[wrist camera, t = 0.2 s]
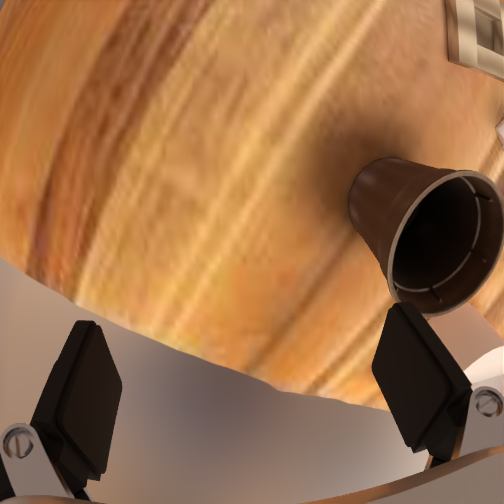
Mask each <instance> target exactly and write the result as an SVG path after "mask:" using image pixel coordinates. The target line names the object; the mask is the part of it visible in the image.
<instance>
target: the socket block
mask: <svg viewBox="0 0 504 504" xmlns="http://www.w3.org/2000/svg"><path fill="white" fill-rule="evenodd" d="M445 3H446V14H447V28H448V54H449V62H452V63H455V64H458V65H461V66H464V67H466V68H469V69H472V70H475V71H477V72H480V73H483V74H485V75H488V76H490V77H493V78H495V79H498V80H500V81H502V82H504V3H503V2H501V1H499V0H445Z"/></svg>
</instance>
